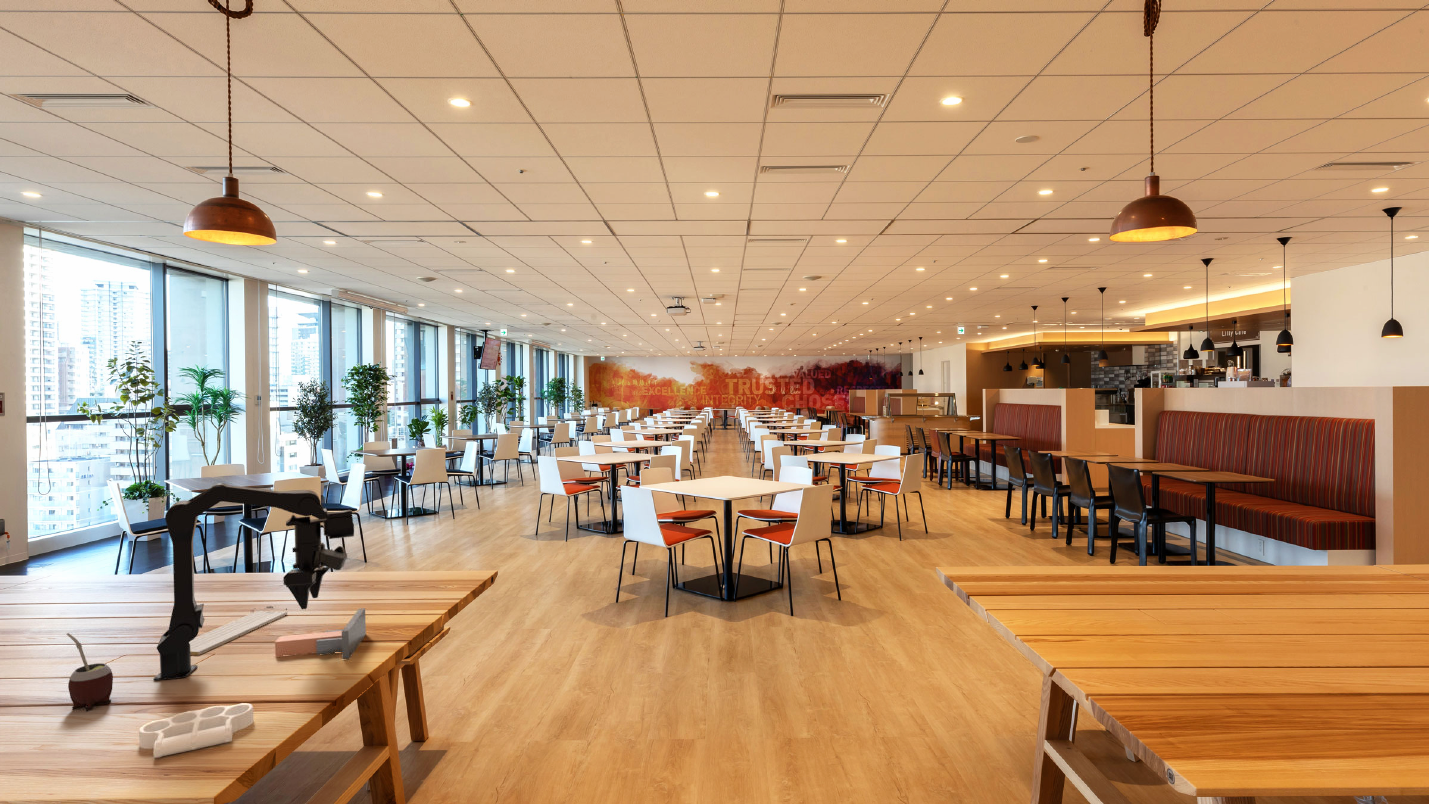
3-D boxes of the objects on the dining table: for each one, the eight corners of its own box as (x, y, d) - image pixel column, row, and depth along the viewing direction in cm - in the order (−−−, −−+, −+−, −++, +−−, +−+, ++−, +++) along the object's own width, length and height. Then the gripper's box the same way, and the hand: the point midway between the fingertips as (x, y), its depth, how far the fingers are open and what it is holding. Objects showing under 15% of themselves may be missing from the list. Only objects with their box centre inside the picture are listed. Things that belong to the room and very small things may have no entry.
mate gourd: (109, 708, 152) (106, 636, 152) (59, 717, 148) (56, 644, 148) (117, 694, 159) (114, 626, 158) (69, 703, 155) (66, 632, 154)
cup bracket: (349, 659, 177) (348, 631, 177) (310, 663, 175) (309, 634, 175) (365, 634, 195) (365, 608, 194) (330, 637, 193) (330, 611, 192)
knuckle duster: (131, 768, 129) (144, 734, 142) (251, 741, 138) (254, 711, 151) (130, 749, 129) (144, 717, 141) (251, 724, 138) (254, 695, 151)
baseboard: (155, 655, 183) (198, 657, 181) (155, 644, 182) (198, 646, 181) (249, 615, 213) (287, 616, 212) (249, 605, 213) (287, 607, 212)
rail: (275, 658, 179) (275, 642, 179) (280, 652, 183) (280, 636, 183) (347, 651, 184) (346, 635, 184) (350, 645, 188) (350, 629, 187)
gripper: (333, 547, 175) (335, 612, 176) (352, 531, 193) (353, 590, 194) (281, 550, 173) (283, 616, 173) (305, 534, 191) (307, 593, 191)
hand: (309, 603), depth 183 cm, fingers open, 9 cm apart
